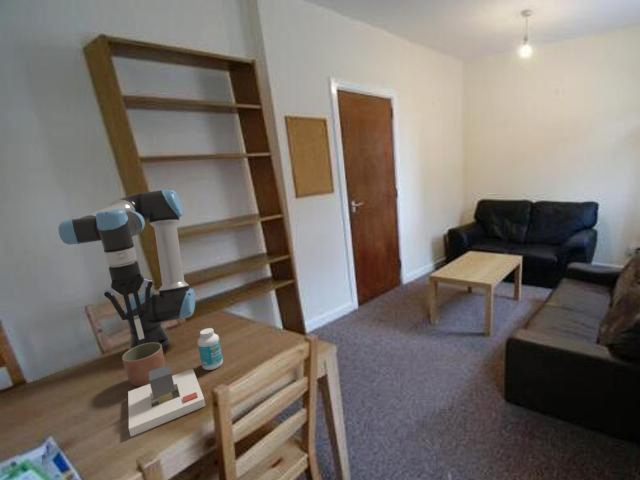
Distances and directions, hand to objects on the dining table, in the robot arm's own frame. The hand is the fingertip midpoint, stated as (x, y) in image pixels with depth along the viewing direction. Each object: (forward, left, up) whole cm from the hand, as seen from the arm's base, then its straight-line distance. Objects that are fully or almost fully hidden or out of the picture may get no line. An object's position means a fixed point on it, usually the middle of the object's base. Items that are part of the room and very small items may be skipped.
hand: (141, 337), depth 104 cm
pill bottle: (-8, +20, -22) cm, 30 cm away
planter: (-14, -1, -22) cm, 26 cm away
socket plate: (+4, +3, -22) cm, 22 cm away
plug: (+4, +3, -21) cm, 22 cm away
